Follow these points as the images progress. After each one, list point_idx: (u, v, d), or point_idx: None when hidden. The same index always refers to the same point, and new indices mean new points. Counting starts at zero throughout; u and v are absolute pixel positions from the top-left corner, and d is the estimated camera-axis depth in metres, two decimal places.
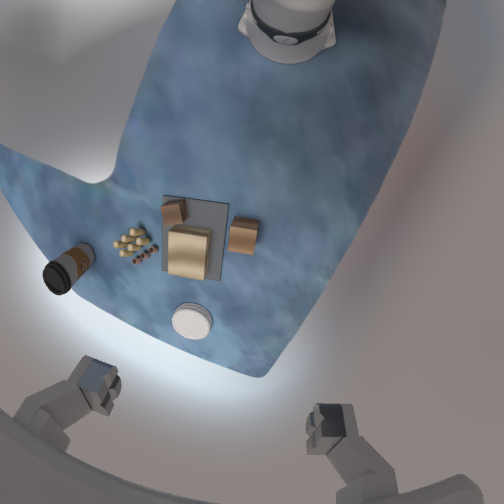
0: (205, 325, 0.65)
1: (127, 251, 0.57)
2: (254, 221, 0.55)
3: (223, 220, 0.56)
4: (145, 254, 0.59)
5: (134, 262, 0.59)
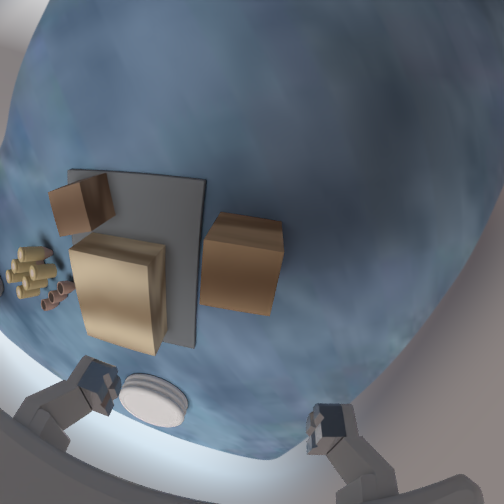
0: (175, 414, 0.31)
1: None
2: (271, 224, 0.21)
3: (192, 221, 0.22)
4: (55, 294, 0.26)
5: (44, 308, 0.26)
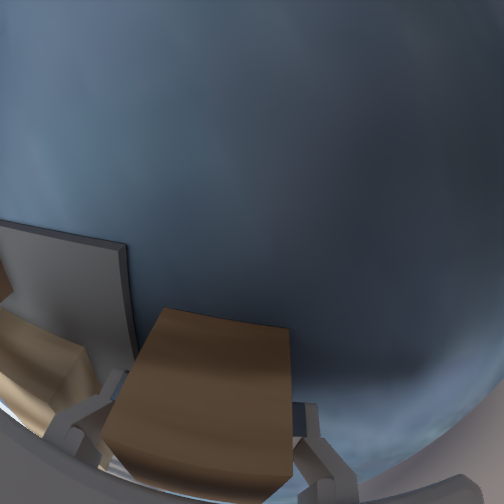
0: None
1: None
2: (266, 345, 0.09)
3: (114, 322, 0.10)
4: None
5: None
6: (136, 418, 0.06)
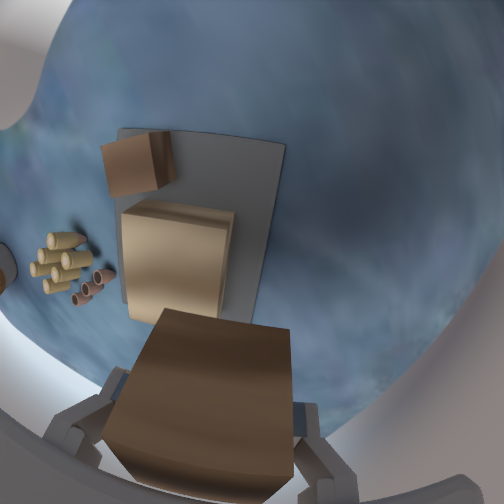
0: None
1: None
2: (267, 346, 0.09)
3: (269, 187, 0.21)
4: (90, 286, 0.25)
5: (75, 303, 0.26)
6: (137, 419, 0.06)
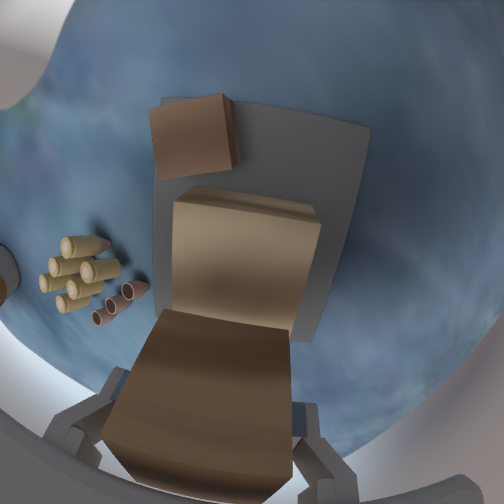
0: None
1: None
2: (266, 346, 0.09)
3: (353, 176, 0.17)
4: (117, 302, 0.21)
5: (98, 322, 0.22)
6: (136, 419, 0.06)
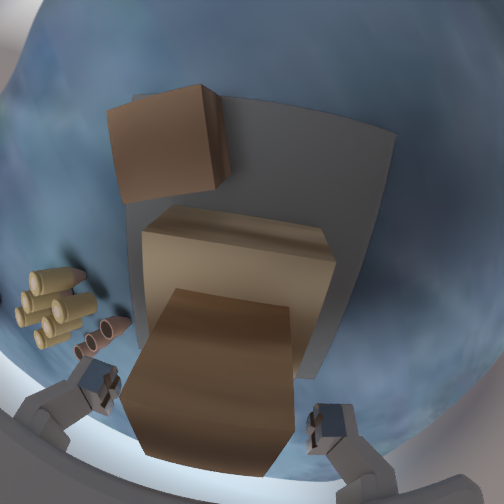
0: None
1: None
2: (269, 320, 0.11)
3: (372, 192, 0.13)
4: (97, 338, 0.18)
5: (80, 357, 0.18)
6: (153, 380, 0.07)
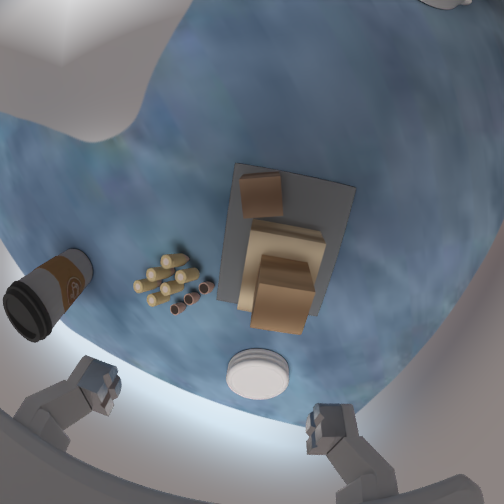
0: (282, 382, 0.39)
1: (160, 295, 0.34)
2: (301, 265, 0.28)
3: (344, 215, 0.30)
4: (193, 296, 0.35)
5: (175, 312, 0.36)
6: (268, 279, 0.24)
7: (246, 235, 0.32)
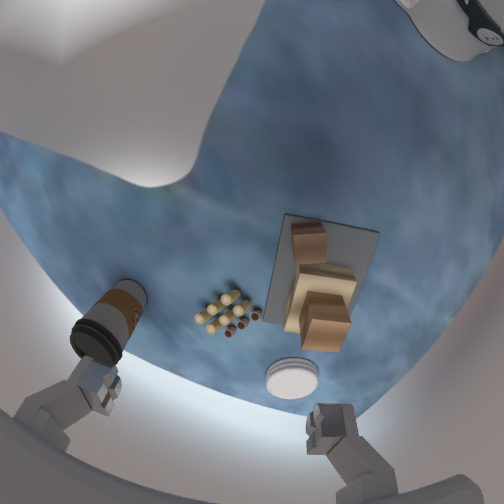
0: (313, 384, 0.46)
1: (217, 324, 0.41)
2: (337, 299, 0.35)
3: (369, 254, 0.37)
4: (245, 322, 0.42)
5: (229, 335, 0.43)
6: (317, 314, 0.31)
7: (291, 272, 0.39)
